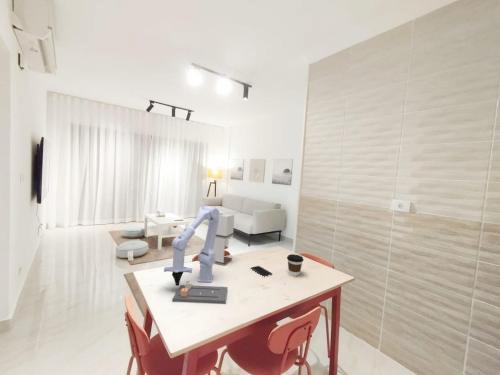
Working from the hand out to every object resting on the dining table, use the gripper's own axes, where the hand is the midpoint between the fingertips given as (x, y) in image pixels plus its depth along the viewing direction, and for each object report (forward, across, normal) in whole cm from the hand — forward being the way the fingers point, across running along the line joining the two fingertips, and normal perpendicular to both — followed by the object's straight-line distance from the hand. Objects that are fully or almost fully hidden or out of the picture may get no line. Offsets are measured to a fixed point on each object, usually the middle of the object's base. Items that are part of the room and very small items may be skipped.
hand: (177, 284), depth 122 cm
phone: (+3, +48, +30) cm, 56 cm away
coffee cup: (+3, +70, +28) cm, 75 cm away
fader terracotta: (+1, +6, -8) cm, 10 cm away
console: (+3, +14, -4) cm, 15 cm away
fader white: (+1, +6, 0) cm, 6 cm away
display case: (+3, +20, +44) cm, 48 cm away
